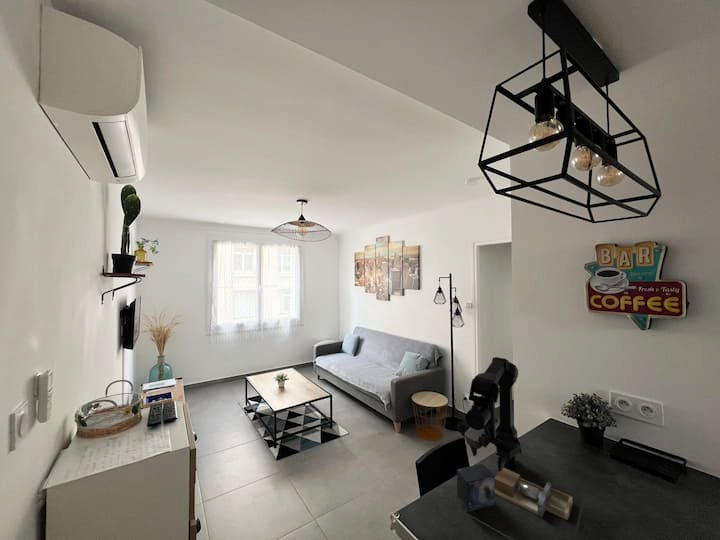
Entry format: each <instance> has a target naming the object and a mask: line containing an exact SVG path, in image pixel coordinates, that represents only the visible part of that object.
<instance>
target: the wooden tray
mask: <svg viewBox="0 0 720 540" xmlns="http://www.w3.org/2000/svg"><path fill="white" fill-rule="evenodd" d="M521 482H524V483H526V484H529V485H531V486H533V487H535V488H538V489H539V499H538V501H535V500H533V499H531V498H529V497H527V496H525V495H522V494H520V486H519V488H518V490H517V491H516V493H515V495H514V497H511V496H509V495H507V494H505V493H503V492H501V491H499V490H496V489H495V496H498V497H500V498H502V499H504V500H506V501H508V502H510V503H512V504H514V505H516V506H517V507H519V508H523V509H524V510H526V511H528V512H530V513H532V514H534V515H536V516H538V517H540V518H543V517H544V514H545V511H547V512H550V513H551V514H553V515H555V516H557V517H559V518H562V519H563V520H566V521H569V518H570V514H571V511H572V508H573V503H574V501H573V499H574V498H573V496H571V495H570V494H568V493H564V492H562V491H560V490H558V489H555V488H553V487H552V483H551V482H549V481H547V482H546V483H545V486H544V487H542V486H540V485H538V484H536V483H534V482H531V481H528V480H526V479H524V478H522V477H520V484H521Z"/></svg>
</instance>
